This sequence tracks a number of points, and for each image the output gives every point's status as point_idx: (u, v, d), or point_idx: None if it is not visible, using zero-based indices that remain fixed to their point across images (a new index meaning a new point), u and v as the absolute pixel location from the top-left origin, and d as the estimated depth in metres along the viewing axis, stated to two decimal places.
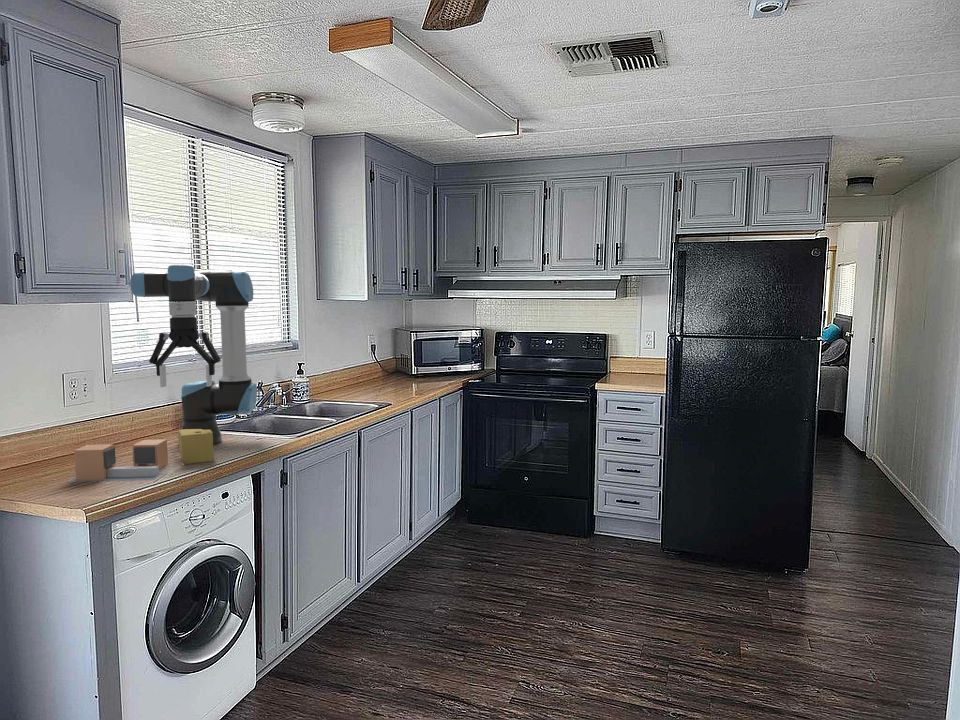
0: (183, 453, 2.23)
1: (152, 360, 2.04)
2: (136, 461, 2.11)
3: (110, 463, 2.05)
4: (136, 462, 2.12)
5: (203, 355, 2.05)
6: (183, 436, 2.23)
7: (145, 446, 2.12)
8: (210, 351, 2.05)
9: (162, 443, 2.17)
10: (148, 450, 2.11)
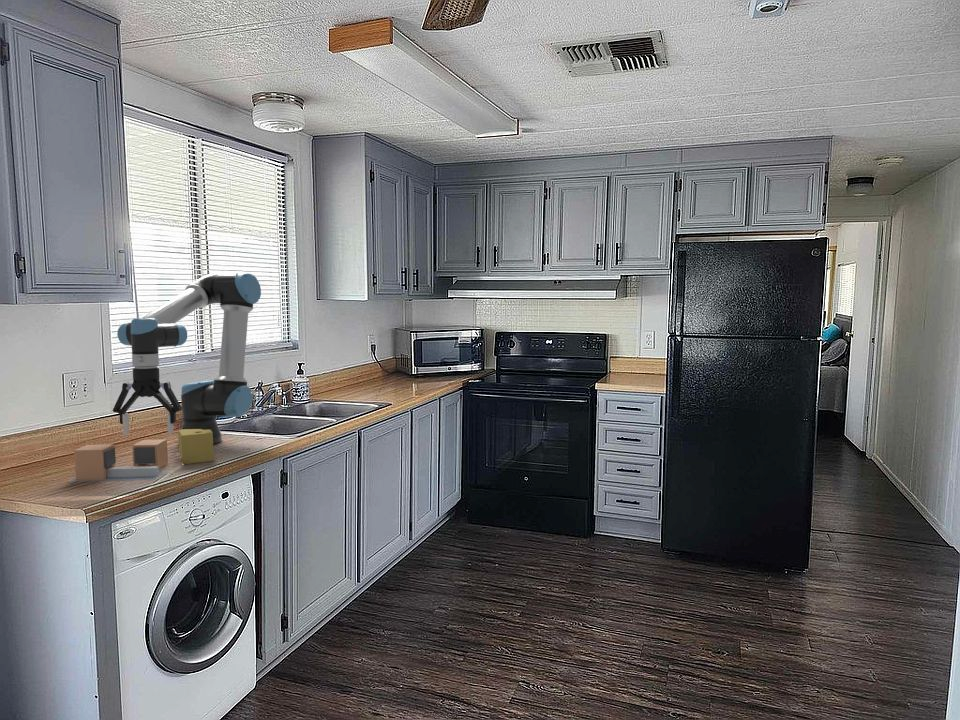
0: (183, 453, 2.23)
1: (115, 409, 2.13)
2: (136, 461, 2.11)
3: (110, 463, 2.05)
4: (136, 462, 2.12)
5: (164, 404, 2.14)
6: (183, 436, 2.23)
7: (145, 446, 2.12)
8: (171, 400, 2.14)
9: (162, 443, 2.17)
10: (148, 450, 2.11)
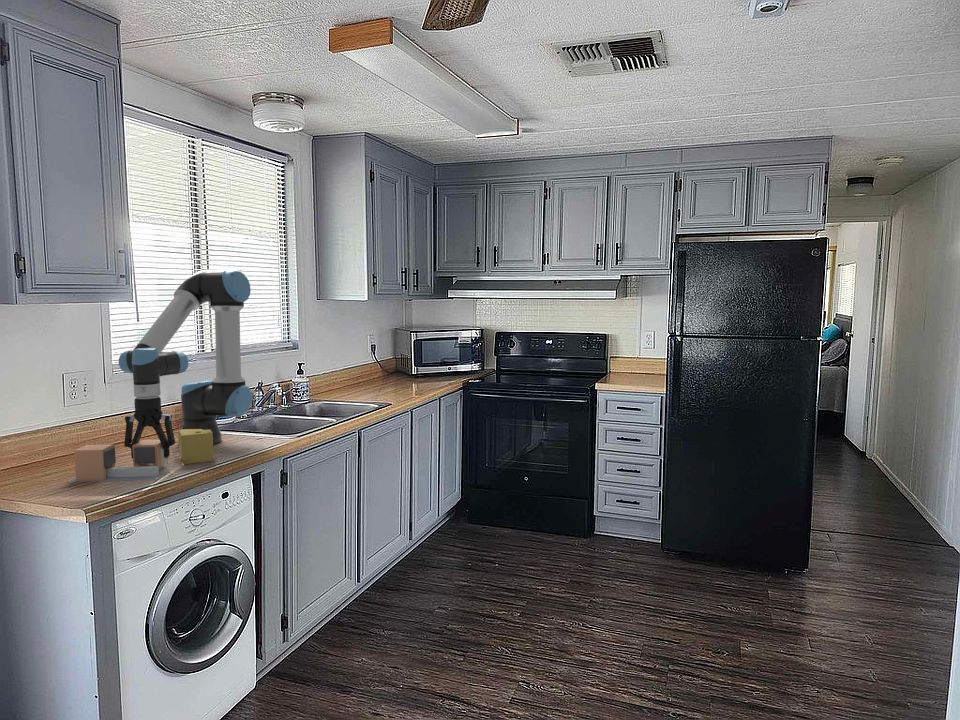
0: (183, 453, 2.23)
1: (126, 443, 2.14)
2: (136, 461, 2.11)
3: (110, 463, 2.05)
4: (136, 462, 2.12)
5: (160, 437, 2.15)
6: (183, 436, 2.23)
7: (145, 446, 2.12)
8: (167, 434, 2.15)
9: None
10: (148, 450, 2.11)
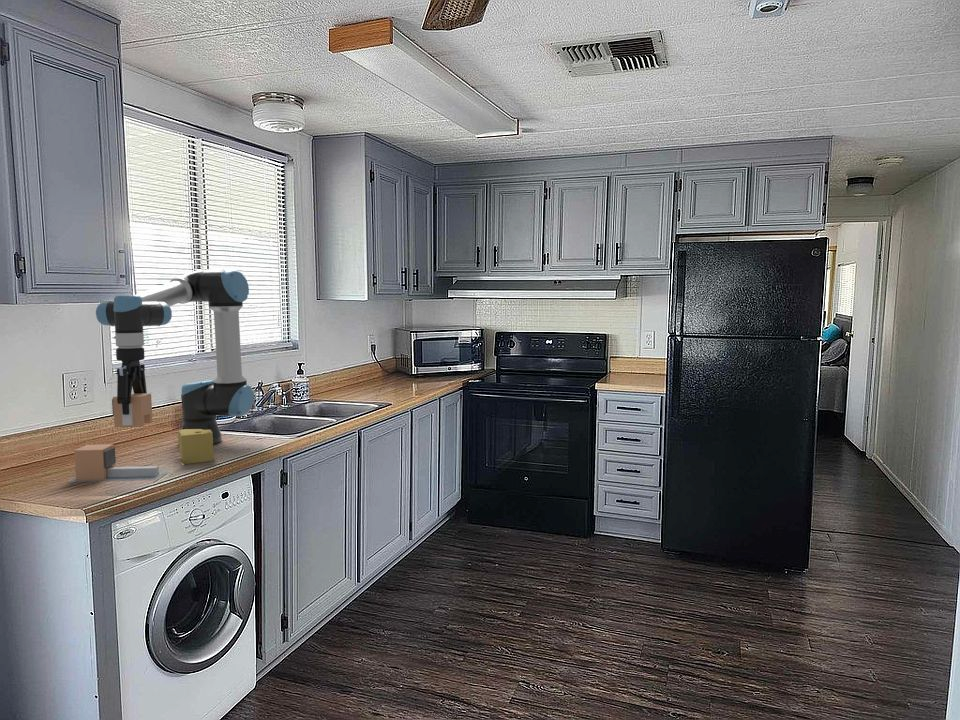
0: (183, 453, 2.23)
1: None
2: None
3: (110, 463, 2.05)
4: None
5: None
6: (183, 436, 2.23)
7: None
8: None
9: None
10: None
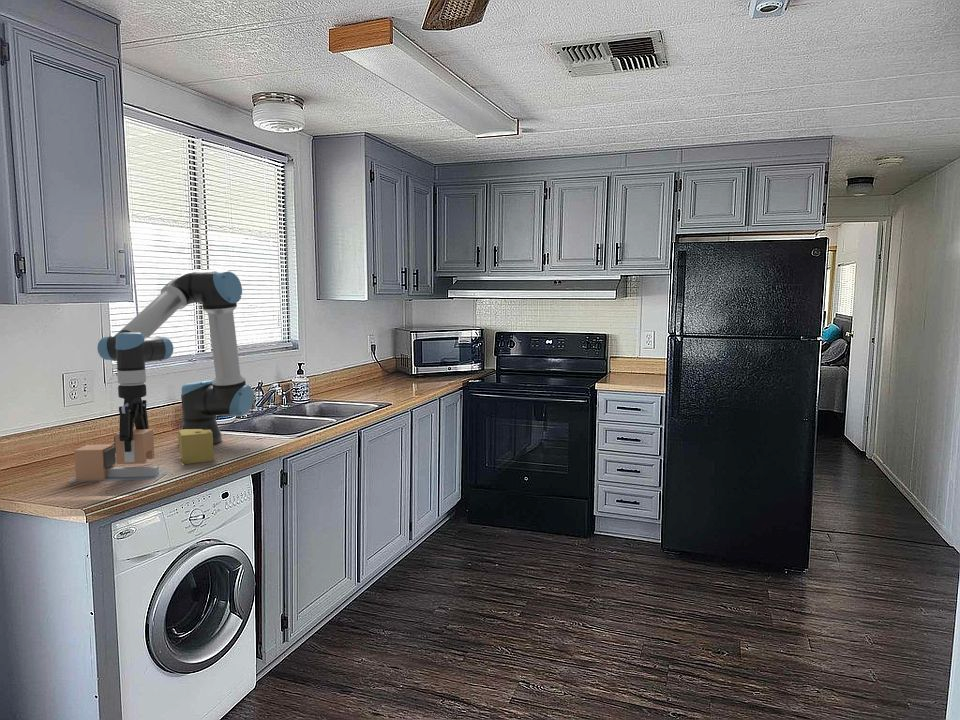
0: (183, 453, 2.23)
1: None
2: None
3: (110, 463, 2.05)
4: None
5: None
6: (183, 436, 2.23)
7: None
8: None
9: None
10: None
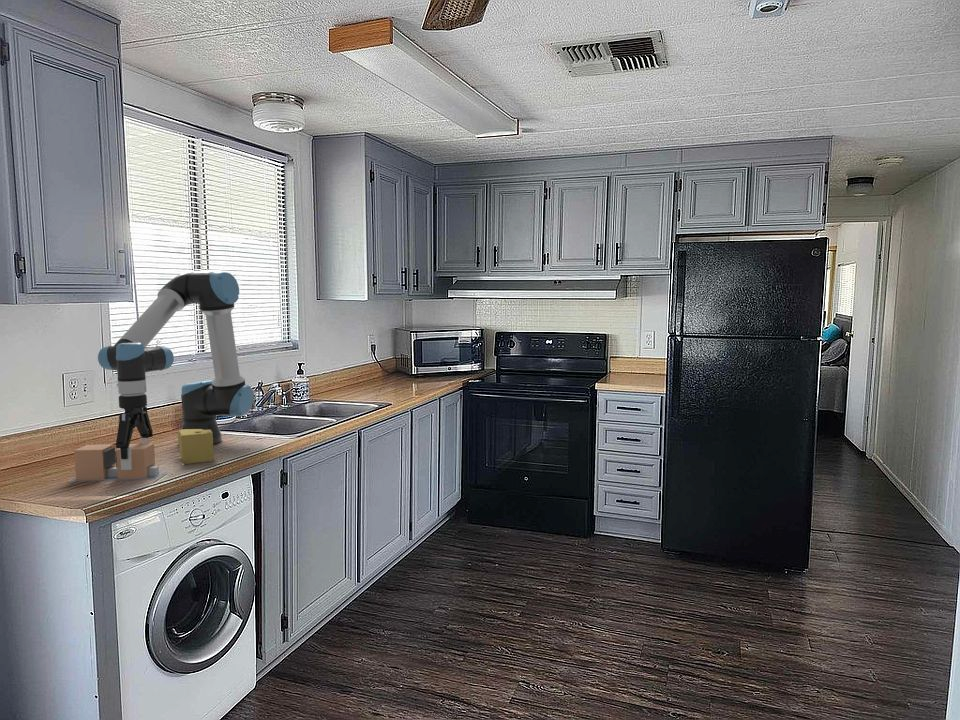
0: (183, 453, 2.23)
1: None
2: None
3: (110, 463, 2.05)
4: None
5: None
6: (183, 436, 2.23)
7: None
8: None
9: (131, 451, 2.02)
10: None
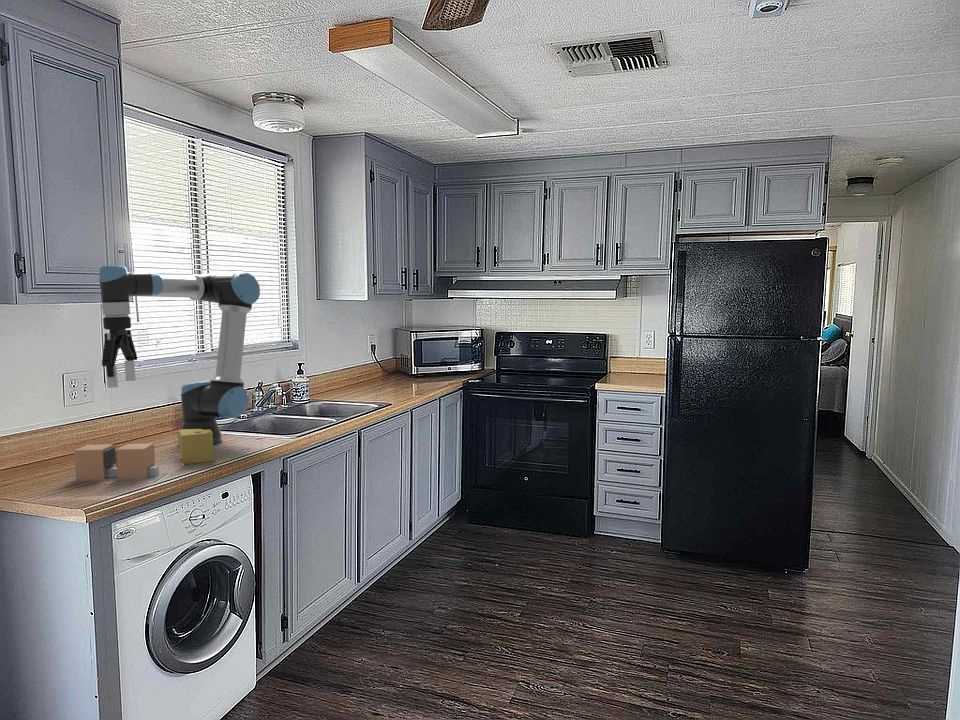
0: (183, 453, 2.23)
1: None
2: None
3: (110, 463, 2.05)
4: None
5: None
6: (183, 436, 2.23)
7: None
8: None
9: (131, 451, 2.02)
10: None
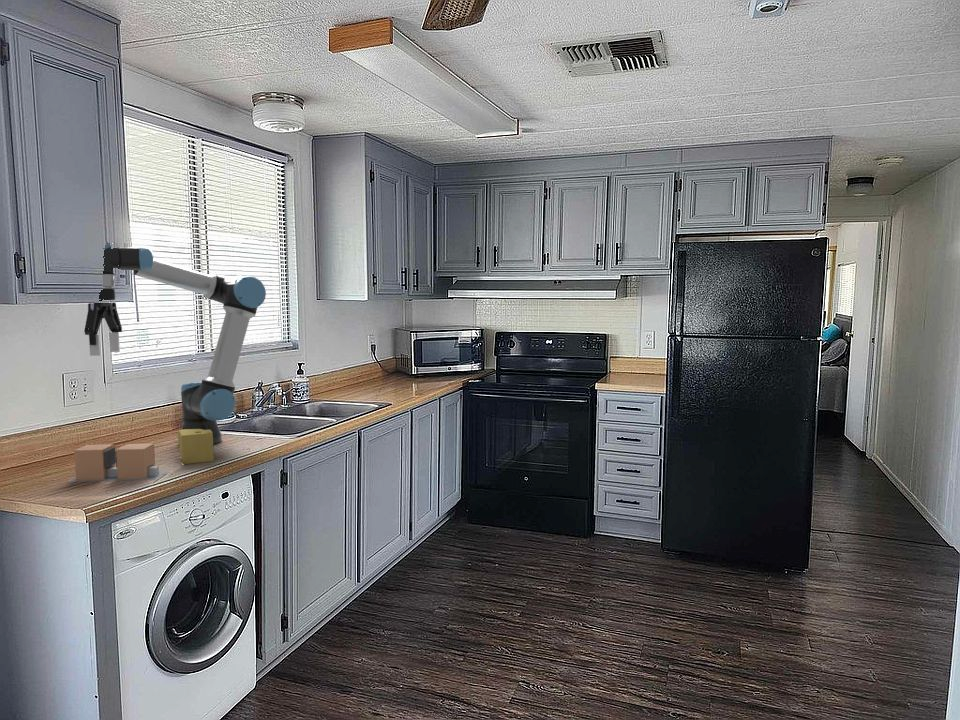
0: (183, 453, 2.23)
1: None
2: None
3: (110, 463, 2.05)
4: None
5: None
6: (183, 436, 2.23)
7: None
8: None
9: (131, 451, 2.02)
10: None
